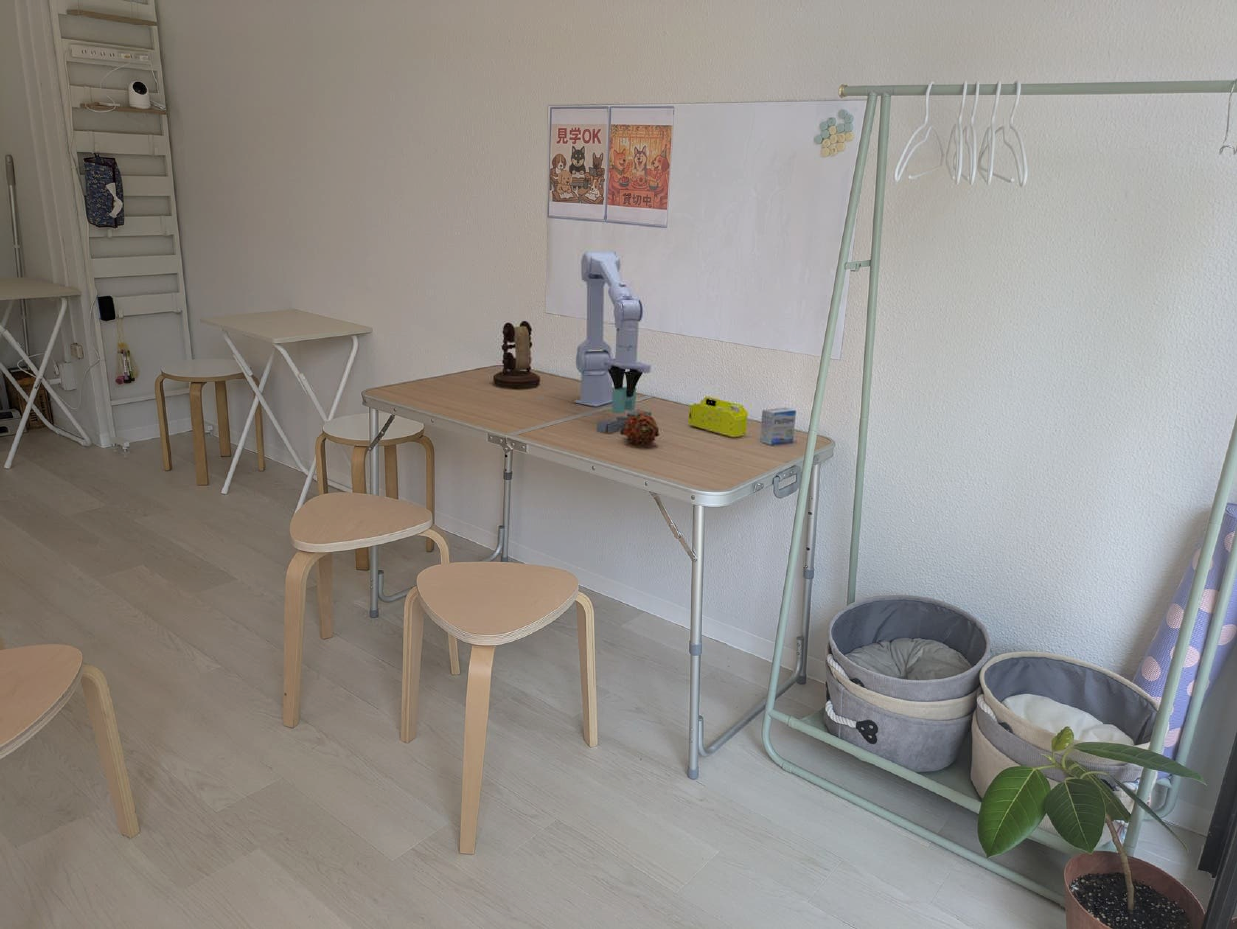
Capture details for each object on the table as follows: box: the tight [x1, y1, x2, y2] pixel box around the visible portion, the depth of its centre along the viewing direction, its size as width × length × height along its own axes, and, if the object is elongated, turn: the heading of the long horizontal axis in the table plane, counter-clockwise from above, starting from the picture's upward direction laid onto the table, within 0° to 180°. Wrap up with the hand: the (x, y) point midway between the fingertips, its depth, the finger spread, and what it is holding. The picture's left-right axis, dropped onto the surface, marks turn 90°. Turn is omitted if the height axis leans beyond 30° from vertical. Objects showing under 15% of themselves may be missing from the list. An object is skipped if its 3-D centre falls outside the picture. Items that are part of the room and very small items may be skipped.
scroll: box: [492, 320, 541, 390], centre depth 289 cm, size 15×15×20 cm
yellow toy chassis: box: [688, 395, 748, 438], centre depth 246 cm, size 16×6×8 cm, turn 44°
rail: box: [596, 409, 652, 435], centre depth 249 cm, size 20×4×2 cm, turn 146°
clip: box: [611, 386, 637, 415], centre depth 247 cm, size 7×3×6 cm, turn 146°
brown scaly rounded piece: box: [619, 413, 660, 446], centre depth 232 cm, size 8×8×12 cm
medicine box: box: [759, 407, 797, 446], centre depth 239 cm, size 8×4×9 cm, turn 122°
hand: (624, 395), depth 247 cm, fingers closed on clip, 3 cm apart
